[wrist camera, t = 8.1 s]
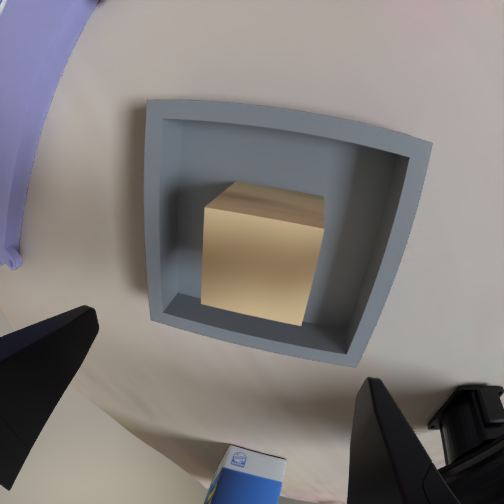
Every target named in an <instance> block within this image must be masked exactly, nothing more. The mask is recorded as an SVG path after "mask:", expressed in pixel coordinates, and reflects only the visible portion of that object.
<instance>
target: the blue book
mask: <svg viewBox="0 0 504 504" xmlns="http://www.w3.org/2000/svg"><path fill="white" fill-rule="evenodd" d="M6 2H7V0H0V15H1V13H2V11H3V8H4V6H5V4H6Z"/></svg>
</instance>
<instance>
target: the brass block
mask: <svg viewBox="0 0 504 504" xmlns="http://www.w3.org/2000/svg"><path fill="white" fill-rule="evenodd" d="M324 229H325V221H324V197H323V196H318V195H313V194H307V193H302V192H296V191H291V190H285V189H280V188H274V187H268V186H262V185H256V184H249V183H243V182H235V183H233V184H232V185H231V186H230V187H228V188H227V189H226V190H225V191H224V192H222V193H221V194H220V195H219V196H218V197H216V198H215V199H214V200H213V201H212V202H210V203H209V204H208V205H207V206H206V207H205V210H204V229H203V253H202V283H201V304H204V305H208V306H212V307H216V308H220V309H224V310H229V311H233V312H237V313H242V314H246V315H251V316H255V317H260V318H264V319H269V320H274V321H278V322H283V323H288V324H293V325H298V326H301V325H302V321H303V317H304V314H305V310H306V306H307V302H308V298H309V294H310V290H311V286H312V282H313V278H314V273H315V269H316V265H317V261H318V256H319V252H320V248H321V243H322V238H323V234H324Z"/></svg>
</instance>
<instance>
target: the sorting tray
mask: <svg viewBox="0 0 504 504" xmlns="http://www.w3.org/2000/svg"><path fill="white" fill-rule="evenodd" d="M432 144H433V143H432V142H429V141H425V140H422V139H419V138H416V137H412V136H409V135H406V134H402V133H399V132H395V131H391V130H388V129H384V128H380V127H376V126H372V125H368V124H364V123H360V122H355V121H351V120H346V119H341V118H336V117H331V116H326V115H321V114H315V113H310V112H304V111H297V110H291V109H284V108H277V107H269V106H261V105H252V104H242V103H230V102H217V101H199V100H147V109H146V125H145V147H144V233H145V255H146V272H147V285H148V297H149V308H150V318H151V320H152V321H155V322H158V323H162V324H165V325H168V326H172V327H175V328H178V329H182V330H185V331H189V332H193V333H196V334H200V335H203V336H207V337H211V338H215V339H219V340H223V341H226V342H230V343H235V344H239V345H243V346H247V347H251V348H256V349H260V350H264V351H269V352H274V353H278V354H283V355H288V356H293V357H298V358H303V359H308V360H314V361H319V362H325V363H331V364H337V365H343V366H349V367H357V365H358V363H359V361H360V359H361V357H362V355H363V353H364V351H365V348H366V346H367V344H368V342H369V340H370V337H371V335H372V333H373V331H374V328H375V326H376V324H377V321H378V319H379V317H380V314H381V312H382V309H383V307H384V305H385V302H386V299H387V297H388V294H389V292H390V289H391V287H392V284H393V281H394V279H395V276H396V273H397V270H398V267H399V265H400V262H401V259H402V256H403V253H404V250H405V247H406V244H407V241H408V237H409V234H410V231H411V228H412V224H413V221H414V218H415V214H416V211H417V207H418V203H419V200H420V196H421V192H422V188H423V184H424V180H425V176H426V172H427V167H428V163H429V158H430V153H431V149H432ZM235 182H243V183H249V184H256V185H262V186H268V187H274V188H280V189H285V190H291V191H296V192H302V193H307V194H313V195H318V196H323V197H324V221H325V229H324V234H323V238H322V243H321V248H320V252H319V256H318V261H317V265H316V269H315V273H314V278H313V282H312V286H311V290H310V294H309V298H308V302H307V306H306V310H305V314H304V317H303V321H302V325H301V326H298V325H293V324H288V323H283V322H278V321H274V320H269V319H264V318H260V317H255V316H251V315H246V314H242V313H237V312H233V311H229V310H224V309H220V308H216V307H212V306H208V305H204V304H201V283H202V253H203V229H204V210H205V207H206V206H207V205H208V204H209V203H210V202H212V201H213V200H214V199H215V198H216V197H218V196H219V195H220V194H221V193H222V192H224V191H225V190H226V189H227V188H228V187H230V186H231V185H232V184H233V183H235Z"/></svg>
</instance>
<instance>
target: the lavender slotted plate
mask: <svg viewBox="0 0 504 504" xmlns="http://www.w3.org/2000/svg"><path fill="white" fill-rule="evenodd" d="M98 2H99V0H7V2H6V4H5V6H4V8H3V11H2V13H1V15H0V265H2V264H5V263H6V264H7V265H8V266H9V267H10V268H11V269H12V270H16V269H17V268H19V267H20V266H22V259H21V256H20V254H19V243H20V234H21V226H22V219H23V212H24V206H25V200H26V194H27V189H28V184H29V179H30V175H31V170H32V166H33V162H34V158H35V154H36V150H37V146H38V143H39V139H40V136H41V132H42V129H43V126H44V122H45V119H46V116H47V113H48V110H49V107H50V104H51V102H52V99H53V96H54V93H55V91H56V88H57V86H58V83H59V81H60V78H61V76H62V73H63V71H64V69H65V66H66V64H67V62H68V59H69V57H70V55H71V53H72V51H73V49H74V47H75V44H76V42H77V40H78V38H79V36H80V34H81V33H82V31H83V29H84V27H85V25H86V23H87V21H88V19H89V18H90V16H91V14H92V12H93V11H94V9H95V7H96V5H97V4H98Z"/></svg>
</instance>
